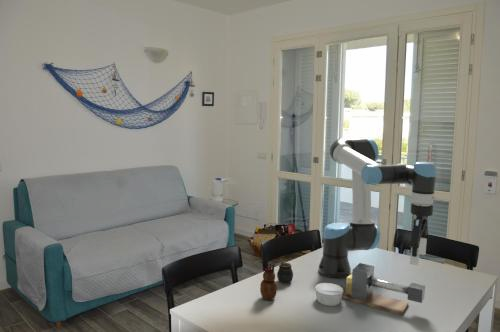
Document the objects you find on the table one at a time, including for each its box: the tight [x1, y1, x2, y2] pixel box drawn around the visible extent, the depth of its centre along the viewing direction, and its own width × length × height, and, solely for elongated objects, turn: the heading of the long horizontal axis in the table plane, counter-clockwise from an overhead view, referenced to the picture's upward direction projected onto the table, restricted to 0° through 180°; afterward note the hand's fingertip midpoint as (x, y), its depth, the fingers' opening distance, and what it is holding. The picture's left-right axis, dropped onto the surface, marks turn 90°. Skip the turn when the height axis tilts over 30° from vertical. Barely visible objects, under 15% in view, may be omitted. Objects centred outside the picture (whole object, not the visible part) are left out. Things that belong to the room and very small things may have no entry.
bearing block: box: [351, 262, 375, 301], centre depth 160 cm, size 6×9×12 cm, turn 146°
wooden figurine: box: [259, 262, 278, 301], centre depth 159 cm, size 7×6×15 cm
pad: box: [342, 288, 351, 297], centre depth 164 cm, size 5×9×1 cm, turn 146°
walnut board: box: [341, 285, 409, 316], centre depth 159 cm, size 26×10×1 cm, turn 56°
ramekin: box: [314, 282, 343, 307], centre depth 158 cm, size 11×11×5 cm
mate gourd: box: [276, 257, 294, 285], centre depth 176 cm, size 7×8×10 cm
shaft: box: [368, 277, 426, 304], centre depth 154 cm, size 25×5×5 cm, turn 56°
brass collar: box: [345, 272, 352, 296], centre depth 163 cm, size 2×7×7 cm, turn 146°
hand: (417, 259), depth 148 cm, fingers open, 13 cm apart
